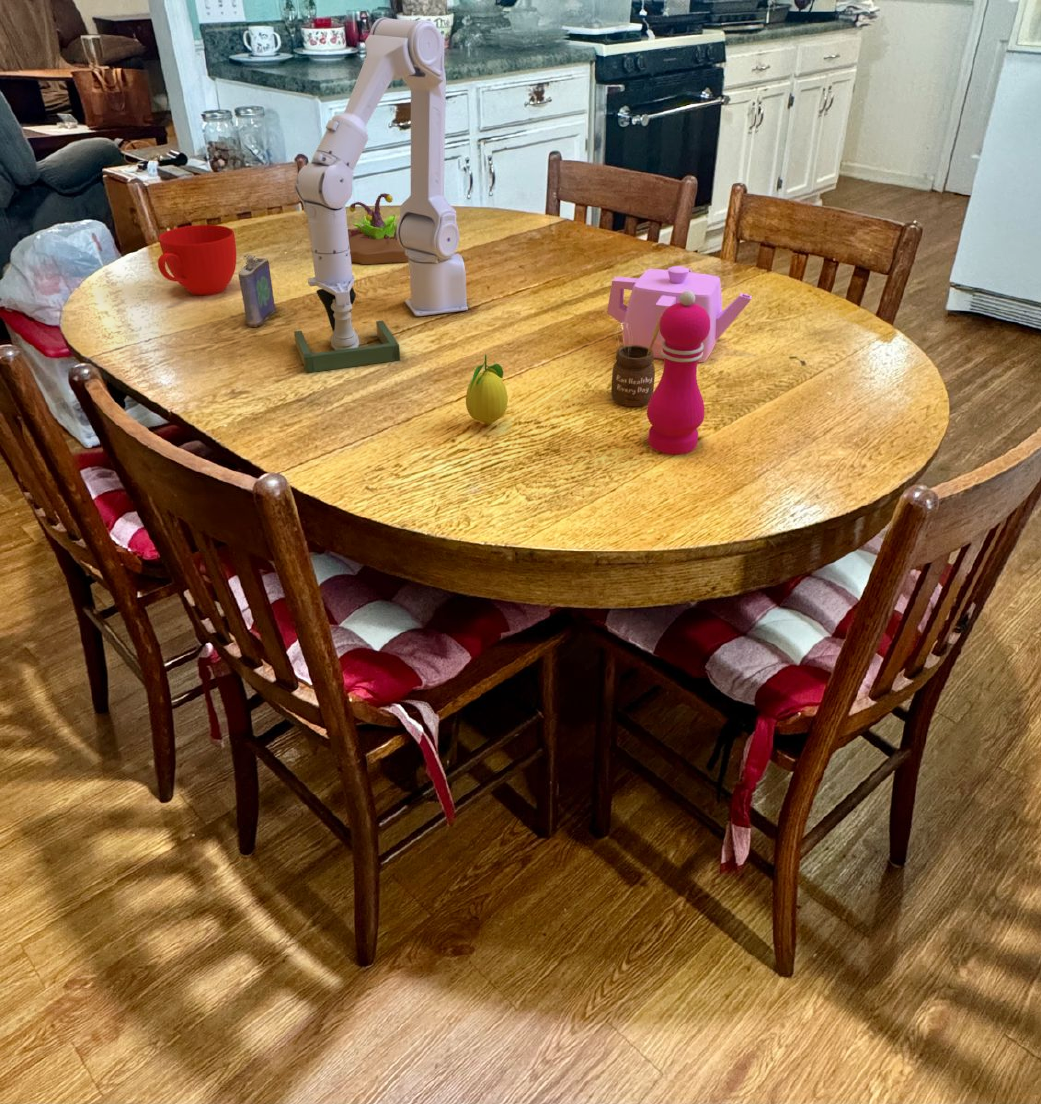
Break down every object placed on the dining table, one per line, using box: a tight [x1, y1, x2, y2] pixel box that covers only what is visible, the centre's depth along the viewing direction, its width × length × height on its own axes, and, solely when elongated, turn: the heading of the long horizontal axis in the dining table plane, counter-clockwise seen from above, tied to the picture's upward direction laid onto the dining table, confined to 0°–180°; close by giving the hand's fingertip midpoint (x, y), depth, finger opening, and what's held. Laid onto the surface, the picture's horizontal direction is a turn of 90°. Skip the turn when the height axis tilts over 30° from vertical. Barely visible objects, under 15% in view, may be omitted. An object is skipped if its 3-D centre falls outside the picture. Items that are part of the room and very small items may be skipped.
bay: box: [293, 320, 401, 374], centre depth 141 cm, size 14×11×2 cm
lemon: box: [465, 353, 509, 426], centre depth 118 cm, size 7×6×10 cm
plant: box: [348, 192, 409, 265], centre depth 183 cm, size 20×20×11 cm
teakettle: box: [606, 265, 753, 363], centre depth 140 cm, size 17×17×12 cm
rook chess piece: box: [330, 298, 360, 351], centre depth 140 cm, size 4×4×8 cm
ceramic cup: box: [157, 224, 237, 296], centre depth 162 cm, size 13×17×10 cm
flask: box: [238, 253, 277, 328], centre depth 151 cm, size 9×3×11 cm, turn 172°
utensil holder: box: [610, 315, 662, 407], centre depth 124 cm, size 6×6×12 cm
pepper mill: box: [646, 291, 710, 455], centre depth 111 cm, size 7×7×20 cm
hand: (341, 334), depth 144 cm, fingers closed
